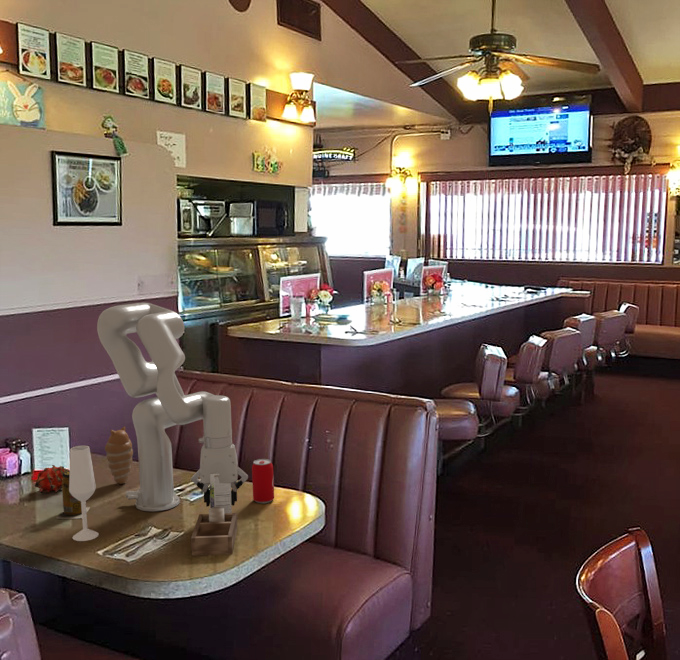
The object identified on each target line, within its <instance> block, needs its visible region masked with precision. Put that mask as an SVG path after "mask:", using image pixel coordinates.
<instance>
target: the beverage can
mask: <svg viewBox="0 0 680 660" xmlns="http://www.w3.org/2000/svg"><path fill="white" fill-rule="evenodd" d="M251 478H252V479H251V480H252V483H251V484H252V499H253V501H254V502H256V503H258V504H269V503H270V502H272V501H273V500H274V499H275V487H274V486H275V480H274V465H273V463H272V460H270V459H267V458H258V459H256V460H255V459H254V460H253V464H252V465H251Z"/></svg>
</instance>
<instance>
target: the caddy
mask: <svg viewBox="0 0 680 660" xmlns="http://www.w3.org/2000/svg"><path fill="white" fill-rule="evenodd" d="M238 529H239V527H238V512H232V513H224V508H223V507H212V508H210V507H209V509H208V513H199V514H198V517H197V520H196V523H195V526H194V529H193V531H192V534H191V537H190V543H191V544H190V545H191V547H190V548H191V556H192V555H193V556H213V555H214V556H215V555H233V553H234V549H235V543H236V540H237V539H236V538H237V533H238ZM201 554H202V555H201Z"/></svg>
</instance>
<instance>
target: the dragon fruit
mask: <svg viewBox="0 0 680 660" xmlns="http://www.w3.org/2000/svg"><path fill="white" fill-rule="evenodd" d="M51 466H52V467H45V468H43V470H42V471H40V472H38V474H37V479H36V482H35V484H34V487H35V488H38V491H39V492H40V493H41V494H42V493H50V492H51V491H54V492H55V493H57V492H58V491H59V490H61V489H62V482H63V473H64V472H66V471H69V470H68V469H67V468H65V466H61V465H60V466H55V464H52V465H51Z"/></svg>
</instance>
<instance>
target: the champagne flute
mask: <svg viewBox="0 0 680 660" xmlns="http://www.w3.org/2000/svg"><path fill="white" fill-rule="evenodd" d="M69 451H70V453H69V470H70V478H69V492H70V493H71V495H72V496H73V497H74V498H76V499H77V500H79V501H81V508H82V518H81V520H82V522H81V523H82V529H81V530H80V531H78V532H77V533H75V534H73V536H72V539H73V541H75V542H76V541H77V542H86V541H92V540H95V539H96V538H97V537H99V532H98V531H95V530H93V529H89V527H88V515H87V513H88V512H87V513H86V507H87V502H86V501H87V500H89V499H90V498H91V497H92V496H93V494H94V493H95V491H96V489H97V485H96V479H95V473H94V468H93V462H92V456H91V455H92V454H91V450H90V446H88V445H77V446H73V447H71V448H70V449H69Z"/></svg>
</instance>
